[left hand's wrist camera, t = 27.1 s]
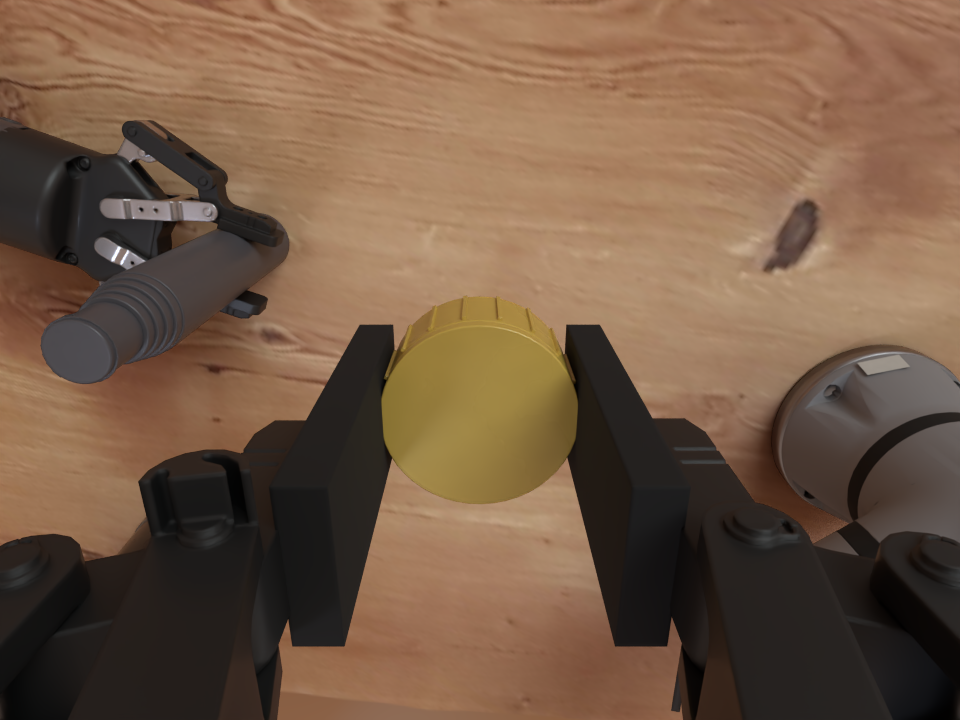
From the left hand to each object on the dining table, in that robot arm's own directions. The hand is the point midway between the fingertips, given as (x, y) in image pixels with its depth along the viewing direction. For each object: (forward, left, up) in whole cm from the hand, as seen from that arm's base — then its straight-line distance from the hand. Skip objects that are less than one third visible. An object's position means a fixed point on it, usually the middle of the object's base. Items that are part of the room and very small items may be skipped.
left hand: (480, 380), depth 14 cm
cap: (0, 0, +2) cm, 2 cm away
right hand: (-4, +14, -28) cm, 31 cm away
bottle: (-3, +17, -34) cm, 38 cm away
